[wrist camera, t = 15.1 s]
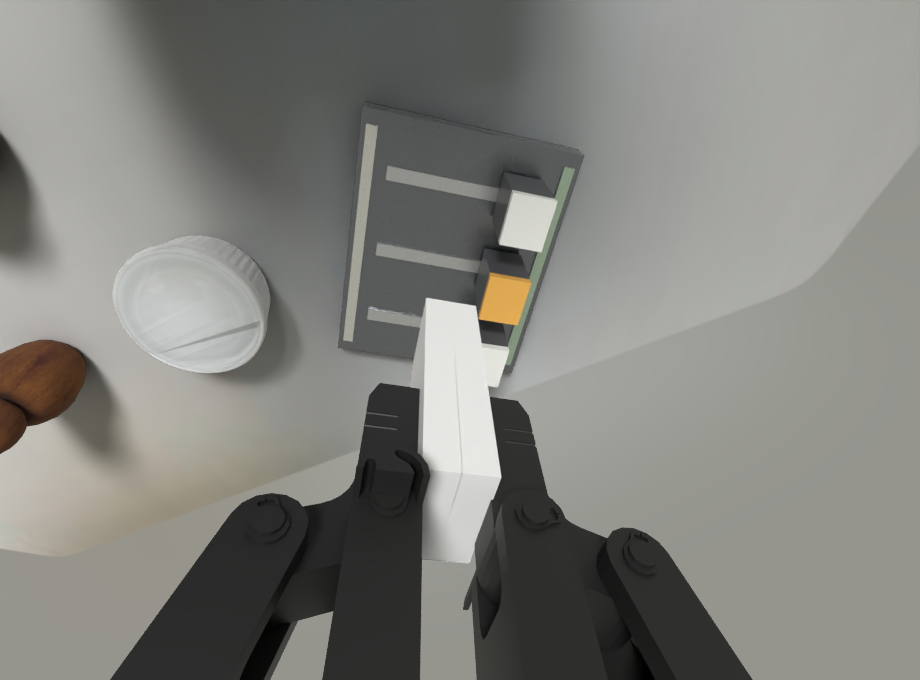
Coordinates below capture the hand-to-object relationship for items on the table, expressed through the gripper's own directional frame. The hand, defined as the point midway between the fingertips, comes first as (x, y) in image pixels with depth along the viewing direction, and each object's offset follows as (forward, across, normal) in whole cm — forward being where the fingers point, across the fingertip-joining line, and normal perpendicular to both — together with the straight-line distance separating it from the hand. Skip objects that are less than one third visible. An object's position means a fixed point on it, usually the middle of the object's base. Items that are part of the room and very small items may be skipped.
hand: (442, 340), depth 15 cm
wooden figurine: (+27, -30, -25) cm, 48 cm away
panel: (+26, +2, -8) cm, 28 cm away
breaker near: (+24, +7, -2) cm, 25 cm away
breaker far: (+24, +6, -14) cm, 29 cm away
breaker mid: (+24, +7, -8) cm, 26 cm away
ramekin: (+27, -16, -15) cm, 35 cm away
